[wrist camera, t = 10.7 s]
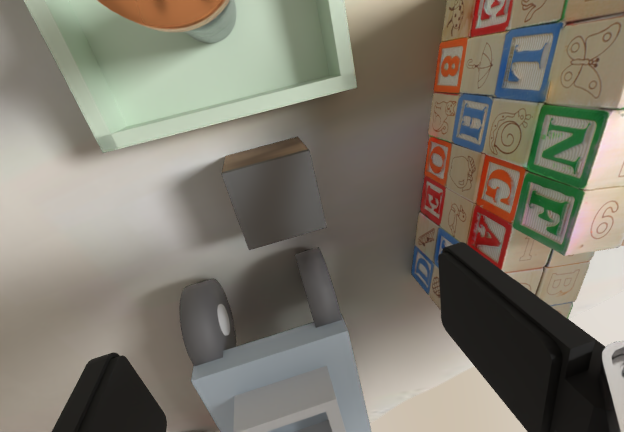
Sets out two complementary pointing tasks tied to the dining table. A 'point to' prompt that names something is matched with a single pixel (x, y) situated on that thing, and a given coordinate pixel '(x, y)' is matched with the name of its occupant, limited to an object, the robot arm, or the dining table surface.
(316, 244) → the dining table surface
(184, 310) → the cart
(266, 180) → the block
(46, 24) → the tray
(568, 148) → the stack of blocks
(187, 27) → the stop pin
